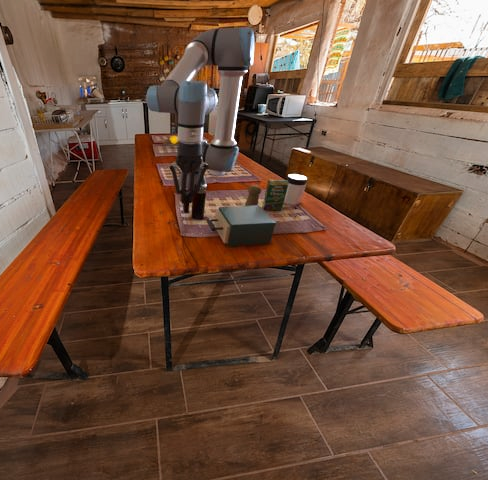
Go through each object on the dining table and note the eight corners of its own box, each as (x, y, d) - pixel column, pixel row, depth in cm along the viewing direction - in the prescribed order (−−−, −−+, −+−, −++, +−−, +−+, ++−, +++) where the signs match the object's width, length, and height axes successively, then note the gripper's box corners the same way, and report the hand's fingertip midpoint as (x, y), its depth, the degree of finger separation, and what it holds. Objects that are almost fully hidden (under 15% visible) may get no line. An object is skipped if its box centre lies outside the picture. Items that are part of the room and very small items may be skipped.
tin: (189, 214, 108) (191, 186, 101) (201, 213, 109) (204, 185, 102) (192, 220, 104) (194, 191, 97) (205, 219, 104) (208, 190, 98)
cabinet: (227, 246, 88) (231, 224, 83) (216, 227, 99) (218, 206, 95) (270, 243, 90) (276, 222, 85) (253, 225, 101) (258, 205, 97)
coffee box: (262, 209, 113) (269, 181, 106) (261, 206, 116) (268, 178, 109) (281, 211, 112) (289, 182, 105) (280, 208, 115) (288, 180, 108)
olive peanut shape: (255, 214, 109) (260, 190, 103) (241, 210, 112) (246, 186, 106) (259, 209, 114) (264, 185, 108) (245, 205, 116) (250, 182, 110)
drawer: (212, 244, 87) (214, 227, 84) (203, 226, 98) (205, 210, 94) (263, 241, 90) (268, 224, 86) (249, 224, 100) (253, 208, 96)
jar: (292, 206, 117) (300, 181, 110) (277, 200, 122) (283, 176, 116) (303, 202, 121) (311, 177, 114) (288, 196, 127) (295, 172, 120)
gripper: (170, 144, 73) (169, 217, 86) (214, 143, 74) (206, 215, 88) (166, 138, 79) (166, 207, 92) (207, 138, 81) (201, 205, 94)
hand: (185, 211), depth 90 cm, fingers closed
